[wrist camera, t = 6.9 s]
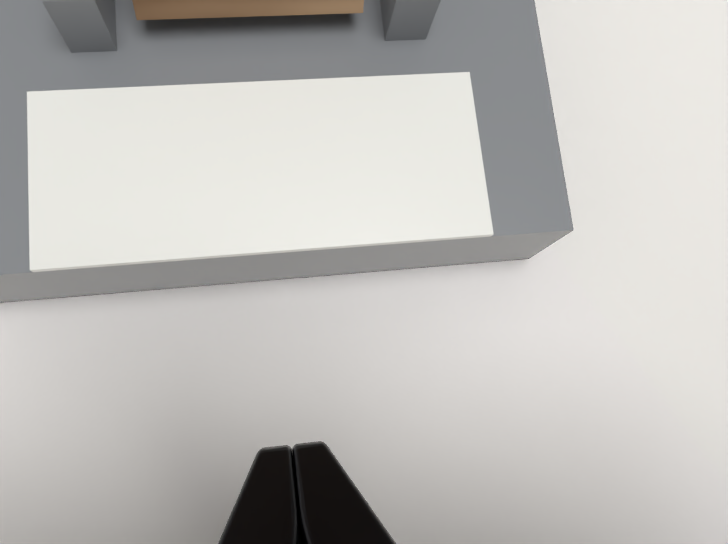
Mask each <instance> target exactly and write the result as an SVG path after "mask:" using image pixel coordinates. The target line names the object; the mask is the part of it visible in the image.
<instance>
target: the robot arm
mask: <svg viewBox="0 0 728 544" xmlns="http://www.w3.org/2000/svg"><path fill="white" fill-rule="evenodd" d="M292 454H293V455H292ZM218 544H396V543H395V541H394V540H393V539H392V537H391V536H390V534H389V533H388V532H387V530H386V529H385V527H384V526H383V524H382V523H381V522H380V520H379V519H378V517H377V516H376V514H375V513H374V512H373V510H372V509H371V507H370V506H369V504H368V503H367V502H366V500H365V499H364V497H363V496H362V494H361V493H360V492H359V490H358V489H357V487H356V486H355V485H354V483H353V482H352V480H351V479H350V477H349V476H348V475H347V473H346V472H345V470H344V469H343V467H342V466H341V465H340V463H339V462H338V460H337V459H336V457H335V456H334V455H333V453H332V452H331V450H330V449H329V447H328V446H327V445H326V444H325V443H323V442H310V443H301V444H296V445H295V446H294V447H293V450H292V449H291V448H290V447H289V446H287V445H284V446H275V447H267V448H262V449H260V450H259V451H258V453H257V454H256V457H255V459H254V461H253V464H252V466H251V468H250V471H249V473H248V475H247V477H246V480H245V482H244V484H243V487H242V489H241V491H240V494H239V496H238V498H237V501H236V503H235V505H234V508H233V510H232V512H231V515H230V517H229V519H228V522H227V524H226V526H225V529H224V531H223V533H222V536H221V538H220V540H219V543H218Z"/></svg>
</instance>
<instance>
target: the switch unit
mask: <svg viewBox="0 0 728 544" xmlns="http://www.w3.org/2000/svg"><path fill="white" fill-rule="evenodd" d="M571 231H573V224H572V219H571V213H570V207H569V201H568V195H567V189H566V183H565V178H564V172H563V166H562V160H561V154H560V148H559V143H558V137H557V131H556V125H555V119H554V113H553V107H552V102H551V96H550V90H549V84H548V78H547V72H546V67H545V61H544V55H543V49H542V43H541V37H540V31H539V26H538V20H537V14H536V8H535V2H534V0H364V7H363V13H348V14H316V15H285V16H254V17H222V18H191V19H160V20H137V19H136V15H135V10H134V6H133V2H132V0H0V302H13V301H25V300H37V299H49V298H61V297H73V296H85V295H97V294H109V293H121V292H133V291H145V290H157V289H169V288H181V287H193V286H205V285H217V284H229V283H241V282H253V281H265V280H277V279H289V278H302V277H314V276H326V275H338V274H350V273H362V272H374V271H386V270H398V269H410V268H422V267H434V266H446V265H458V264H470V263H482V262H494V261H506V260H518V259H529V258H531V257H532V256H534V255H535V254H537V253H538V252H540V251H542V250H543V249H545V248H546V247H548V246H549V245H551V244H553V243H554V242H556V241H557V240H559V239H560V238H562V237H563V236H565V235H567V234H568V233H570V232H571Z"/></svg>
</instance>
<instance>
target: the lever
mask: <svg viewBox="0 0 728 544" xmlns="http://www.w3.org/2000/svg"><path fill="white" fill-rule="evenodd" d="M132 2H133V6H134V10H135V15H136V19H137V20H160V19H191V18H222V17H254V16H285V15H316V14H348V13H363V7H364V0H132Z"/></svg>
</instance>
